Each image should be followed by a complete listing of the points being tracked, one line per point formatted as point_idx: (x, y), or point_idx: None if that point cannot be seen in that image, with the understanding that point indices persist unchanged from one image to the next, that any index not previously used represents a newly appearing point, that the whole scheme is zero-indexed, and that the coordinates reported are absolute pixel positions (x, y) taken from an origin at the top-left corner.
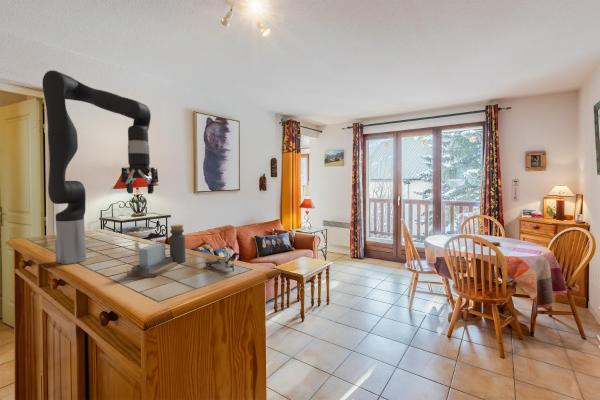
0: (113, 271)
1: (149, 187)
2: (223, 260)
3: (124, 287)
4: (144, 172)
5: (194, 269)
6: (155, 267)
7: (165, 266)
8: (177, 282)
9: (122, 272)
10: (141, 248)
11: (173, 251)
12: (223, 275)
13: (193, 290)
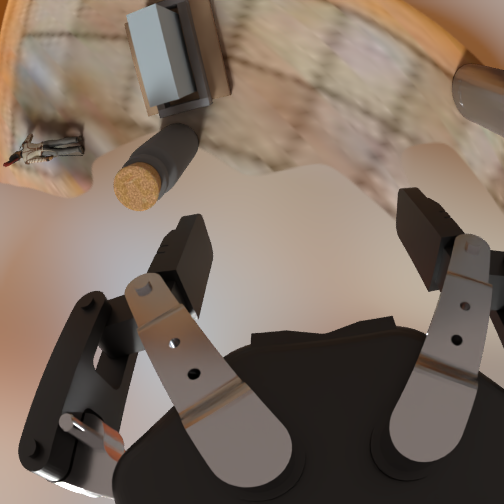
0: (284, 13)
1: (169, 253)
2: (31, 145)
3: None
4: (171, 426)
5: (90, 108)
6: None
7: None
8: (64, 30)
9: (249, 13)
10: (155, 13)
11: (161, 132)
12: (24, 109)
13: (22, 27)
